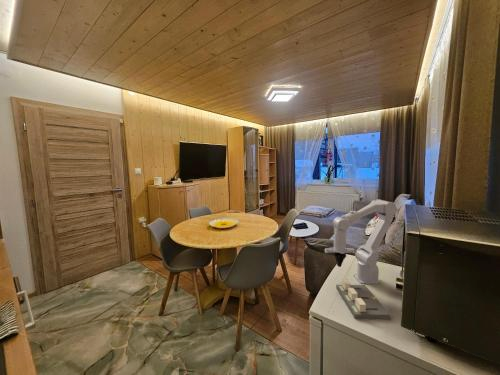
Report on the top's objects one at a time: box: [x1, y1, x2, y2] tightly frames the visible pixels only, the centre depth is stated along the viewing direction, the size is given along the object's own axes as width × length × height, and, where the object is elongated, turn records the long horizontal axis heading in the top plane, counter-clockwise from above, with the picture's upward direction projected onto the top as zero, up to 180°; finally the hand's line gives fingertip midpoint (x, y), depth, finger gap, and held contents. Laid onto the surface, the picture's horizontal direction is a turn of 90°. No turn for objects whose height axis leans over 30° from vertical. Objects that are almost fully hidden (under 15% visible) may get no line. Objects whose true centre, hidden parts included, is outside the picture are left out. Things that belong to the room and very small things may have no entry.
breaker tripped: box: [348, 288, 358, 300], centre depth 93 cm, size 2×4×3 cm, turn 178°
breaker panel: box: [335, 284, 391, 320], centre depth 93 cm, size 14×20×2 cm
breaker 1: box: [341, 278, 352, 290], centre depth 100 cm, size 2×4×3 cm, turn 178°
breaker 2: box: [355, 298, 366, 312], centre depth 86 cm, size 2×4×3 cm, turn 178°
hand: (339, 265), depth 107 cm, fingers closed
